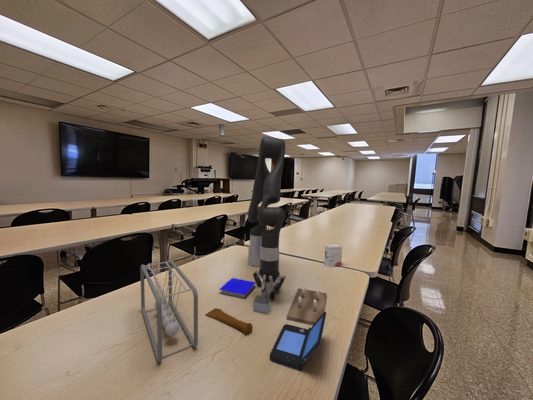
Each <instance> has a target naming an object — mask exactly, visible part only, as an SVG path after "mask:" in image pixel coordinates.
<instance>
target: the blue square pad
mask: <svg viewBox="0 0 533 400" xmlns="http://www.w3.org/2000/svg"><path fill="white" fill-rule="evenodd" d="M255 285H256V282H255V281H250V280H244V279H241V278H234V277H231V278H230V279H229V280H228V281H226V282H225V283H224V285H222V286H221V287H220V288H219V289H218V290H219V291H221V294H224V295H228V296H232V297H236V298H242V299H245V298H246V297H247V295H249V293H250V292H251V291H252V290H253V288H255V287H254V286H255Z"/></svg>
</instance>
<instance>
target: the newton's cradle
mask: <svg viewBox="0 0 533 400" xmlns="http://www.w3.org/2000/svg"><path fill="white" fill-rule="evenodd" d="M161 264H163V265H164V264H165V265H167V266H166V267H165V269H166V268H167V270H166V274H165V279H164V281H162V282H160V281H159V277H157V276H156V274H157V275H159V274H160V272H158V273H154V271H156V270H158V268H156V269H152V267H151V266H156V265H161ZM146 267H148V268H149V270H150V272H151V273H152V275H153V278H154V281H155V284H154V282H153V280H152V278H151V276H150V274H149V272H148V269H147V268H146ZM173 268H174V269H173ZM139 269H140V306H141V309H140V310H141V315H142V318H143V320H144V324H145V326H146V330H147V334H148V337H149V339H150V343H151V345H152V349H153V353H154V356H155V360H156V362H158V363H160V362H161V361H162V360H163V358H165V357H168V356H169V355H172V354H175V353H176V352H179V351H182V350H184V349H187V348H190V347H191V346H192V348H197V347H198V343H199V338H198V337H199V320H198V319H199V315H198V314H199V307H198V306H199V295H198V290H197V288H196V286H195V285H194V284H193V283H192V282H191V280H189V278H188V277H187V276H186V275H185V274H184V273H183V271H182V270H181V269H180V268H179V266H178V265H177V264H176V263H175V262H174V260H173V259H169V260H167V261H163V262H157V263H151V264H146V265H145V264H141V265H140V268H139ZM160 269H161V270H162V269H163V267H160V268H159V270H160ZM174 270H175V271H176V272H177V273H178V275H179V276H180V277H181V279H182V280H183V281H184V283H185V284H186V285H187V287H189V289H188V288H187V287H186V286H185V284H183V282H182V281H181V279H180V278H179V277H178V275H177V274H176V273H175V271H174ZM162 273H165V271H162V272H161V274H162ZM167 275H168V276H167ZM167 277H168V280H167ZM174 277H175V281H176V282H175V284H174V285H173V283H174ZM162 278H164V276H162V277H160V279H162ZM145 279H146V281H147V283H148V286H149V288H150V291H151V292H152V295H153V297H154V300H155V302H154V307H155V308H151V309H148V310H146V301H145V300H146V299H145V296H146V295H145ZM165 282H166V283H167V285H168V286H166V287H165V284H166V283H165ZM178 282H179V283H180V284H179V283H178ZM163 283H164V285H163V287H162V285H161V284H163ZM177 285H178V286H179V289H178V291H177V292H176V289H177ZM181 286H182V287H183V289H184V290H182V291H181ZM164 287H165V288H164ZM173 287H174V292H173ZM164 289H166V293H165V290H164ZM190 291H192V294H193V336H192V334H191V333H190V330H189V329H188V326H186V324H185V322H184V320H183V319H182V317H181V315H180V313H179V312H178V309H177V305H178V302H179V301H178V300H179V298H177V300H176V305H175V304H174V301H173V300H174V298H175V295H177V297H179V296H180V294H182V293H186V292H190ZM167 298H168V303H167V300H166V299H167ZM170 307H171V308H170ZM155 310H156V330H157V331H156V338H155V335H154V332H153V329H152V326H151V323H150V320H149V317H148V315H147V312H151V311H155ZM172 311H173V312H174V314H173V312H172ZM175 317H176V318H175ZM176 319H177V320H178V322H176ZM180 326H181V328H182V330H183V331H184V333H185V334H184V335H186V337H187V339H188V341H189V342H190V344H188V345H186V346H184V347H180V348H178V349H175V350H173V351H171V352H169V353H165V354H163V328H164V330H165V331H164V332H165V334H166V335H167V336H169V337H174V336H176V334H178V332H179V329H180ZM156 339H157V341H156Z"/></svg>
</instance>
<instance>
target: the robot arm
mask: <svg viewBox="0 0 533 400" xmlns="http://www.w3.org/2000/svg"><path fill="white" fill-rule="evenodd" d="M259 144H260V145H259V149H258V159H257V167H256V172H255V175H254V176H255V177H254V180H253V181H254V182H253V187H252V193H251V199H250V203H249V207H248V211H247V220H248V222H250V223H251V224H252V223H253V224H255V223H259V224H258V225H256V226H255V227H252V228H250V230H249V247H248V253H247V254H248V255H247V259H248V260H247V264H248V265H250V264H251V265H250V266H252V265H253V266H252V267H257V266H259V270H258V271H254V272H253V274H252V277H253V278H254V279H253V280H254V282H256V283H255V285H256V287H257V288H259V289H261V294H262V293H263V291H264V289H265V288H266V286H267V282H269V283H270V285H271V290H272V291H271V301H274V299H275V298H276V293H277V291H279V289H280V287H281V288H282V285H283V284H284V282H285V280H286V276H285V275H281V274H280V270H279V269H280V235H281V233H280V232H281V229H282V226H283V223H284V221H285V217H286V216H285V215H286V214H285V211H284V209H283V208H281V207H276V206H275V207H274V206H273V207H271V206H270V205H275V204H278V203H279V202H280V201H281V189H282V188H281V183H282V182H281V181H282V175H283V168H284V164H285V163H284V162H285V154H286V141H285V140H284V139H283V138H279V137H271V136H262V137H261V139H260V143H259ZM266 159H268V160H269V159H270V160H276V162H275V165H274V166H273V169H271V170H269V168H268V166H267V162H266ZM259 205H260V206H259ZM269 206H270V207H269ZM268 226H274V227H273V228H272V229H268ZM261 279H262V280H261ZM276 279H279V281H280V282H279V284H278V286H276ZM280 290H281V289H280ZM279 292H280V291H279ZM261 294H260V295H261Z"/></svg>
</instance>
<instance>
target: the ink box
mask: <svg viewBox="0 0 533 400" xmlns="http://www.w3.org/2000/svg"><path fill="white" fill-rule="evenodd" d="M342 255H343V246H342V245H340V244H338V243H337V244H336V243H334V244H333V243H331V244H324V259H323V262H324V263H323V264H324V265H325V264H326V265H328V266H333V267H341V266H342V257H343V256H342ZM326 265H325V266H326Z"/></svg>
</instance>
